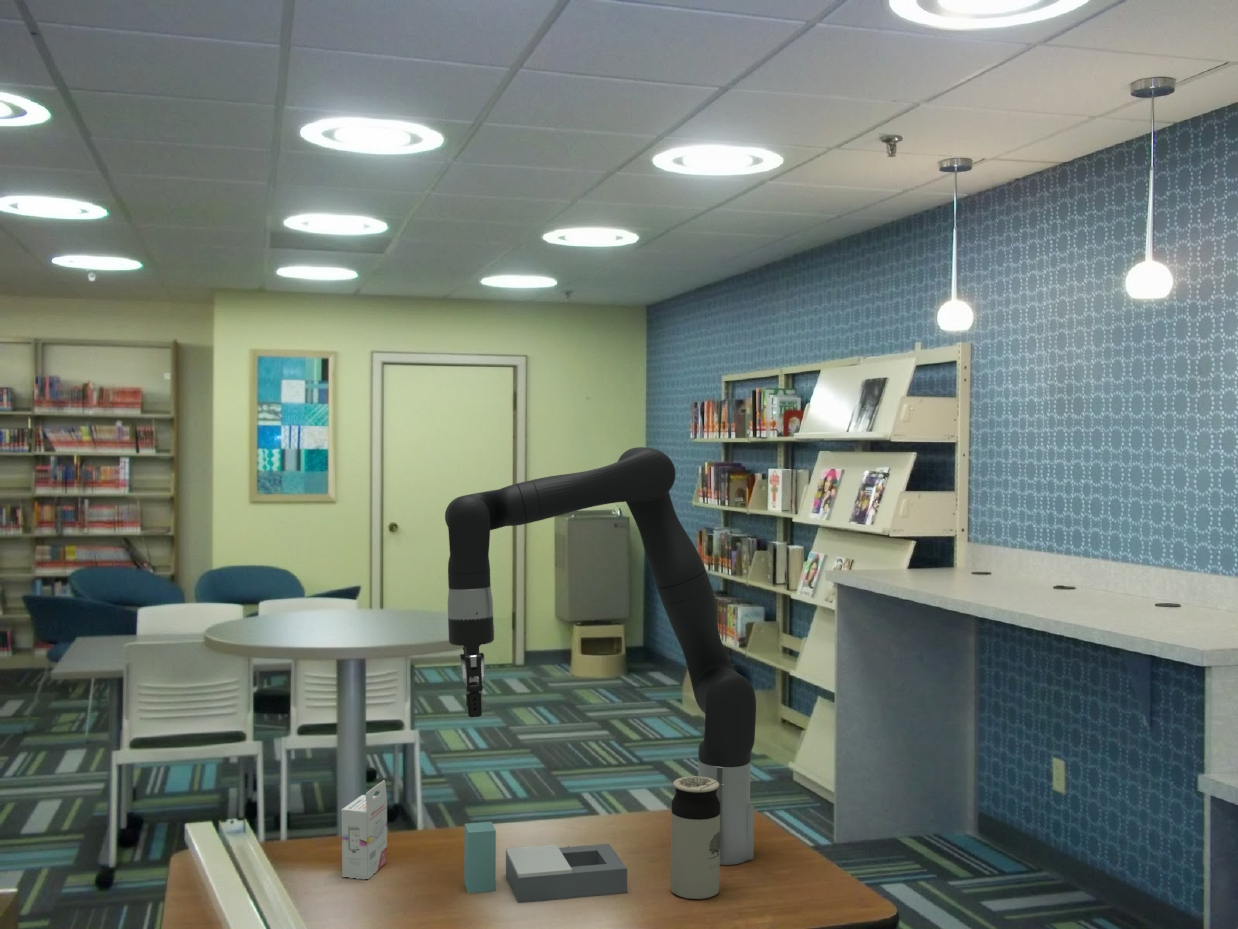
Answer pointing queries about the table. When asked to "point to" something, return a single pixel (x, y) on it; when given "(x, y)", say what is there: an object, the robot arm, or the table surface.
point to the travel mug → (695, 838)
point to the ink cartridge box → (365, 834)
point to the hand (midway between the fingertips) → (474, 711)
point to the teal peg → (480, 857)
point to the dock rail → (564, 872)
